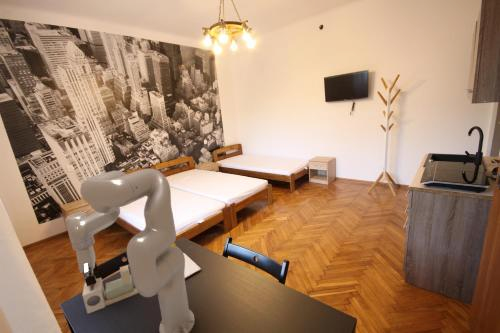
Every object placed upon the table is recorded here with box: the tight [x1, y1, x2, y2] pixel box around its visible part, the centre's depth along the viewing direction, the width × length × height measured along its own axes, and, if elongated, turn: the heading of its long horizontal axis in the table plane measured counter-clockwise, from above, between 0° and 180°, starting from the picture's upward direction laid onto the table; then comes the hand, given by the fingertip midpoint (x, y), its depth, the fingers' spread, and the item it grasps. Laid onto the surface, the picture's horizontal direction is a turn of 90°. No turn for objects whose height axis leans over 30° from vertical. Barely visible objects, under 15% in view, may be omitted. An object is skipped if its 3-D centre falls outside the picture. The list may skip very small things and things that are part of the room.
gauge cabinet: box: [82, 277, 106, 315], centre depth 96 cm, size 8×6×9 cm
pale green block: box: [104, 281, 140, 307], centre depth 102 cm, size 7×18×6 cm, turn 120°
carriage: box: [104, 264, 134, 300], centre depth 100 cm, size 6×10×10 cm, turn 120°
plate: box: [183, 252, 202, 279], centre depth 114 cm, size 19×19×2 cm
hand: (92, 277), depth 98 cm, fingers open, 9 cm apart
